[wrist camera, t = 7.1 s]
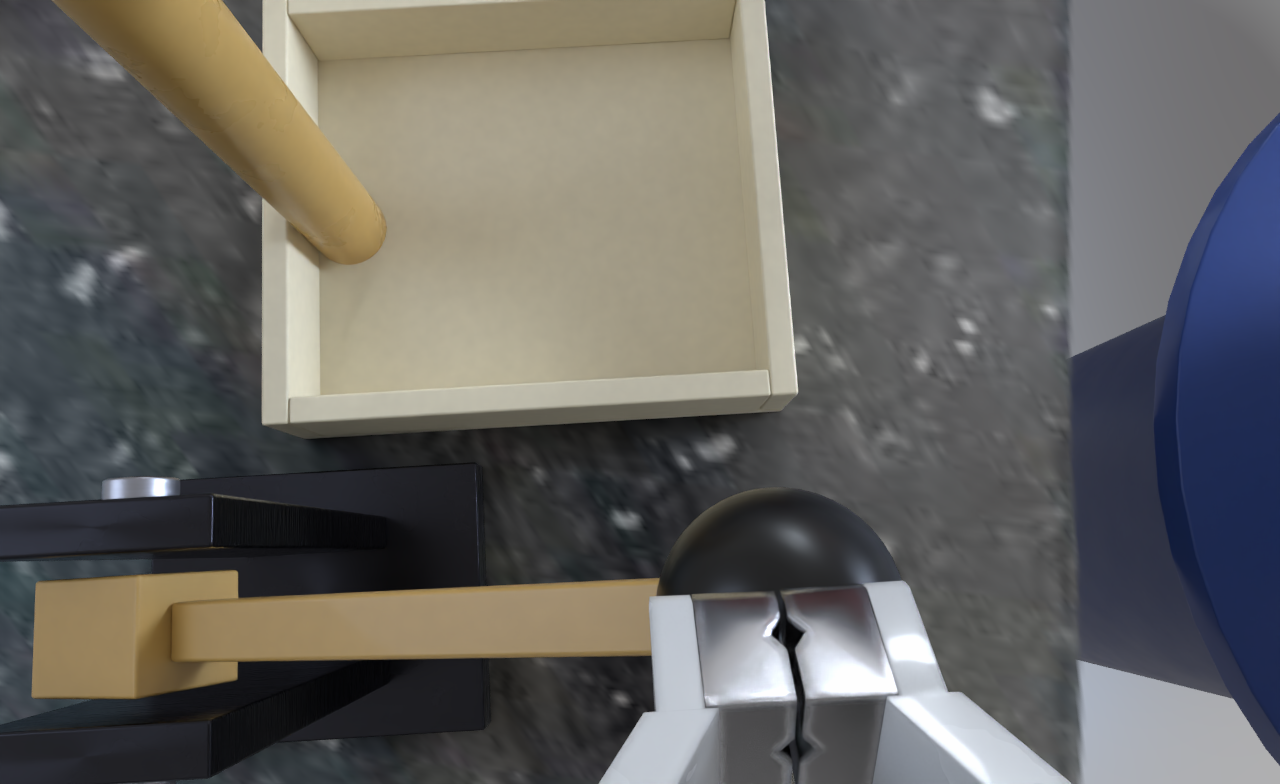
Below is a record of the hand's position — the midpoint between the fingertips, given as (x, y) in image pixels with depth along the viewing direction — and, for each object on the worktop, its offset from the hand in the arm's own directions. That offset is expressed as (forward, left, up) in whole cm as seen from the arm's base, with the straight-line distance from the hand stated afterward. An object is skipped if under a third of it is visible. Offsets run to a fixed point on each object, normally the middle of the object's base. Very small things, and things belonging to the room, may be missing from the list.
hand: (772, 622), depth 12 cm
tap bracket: (+11, 0, -20) cm, 23 cm away
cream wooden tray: (+4, -12, -20) cm, 23 cm away
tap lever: (+5, 0, -7) cm, 8 cm away
